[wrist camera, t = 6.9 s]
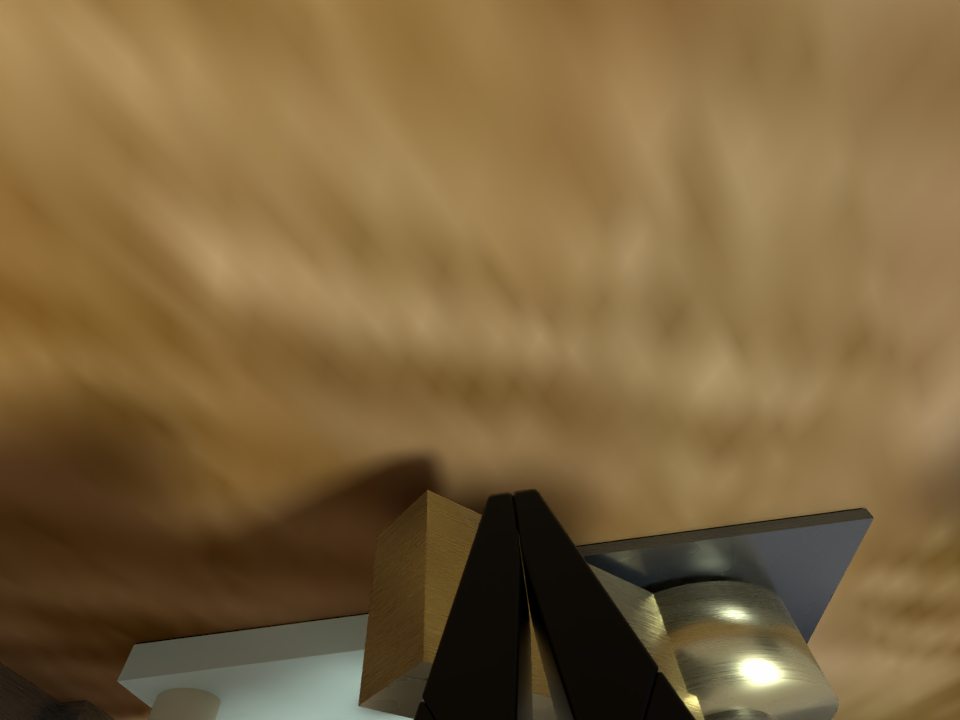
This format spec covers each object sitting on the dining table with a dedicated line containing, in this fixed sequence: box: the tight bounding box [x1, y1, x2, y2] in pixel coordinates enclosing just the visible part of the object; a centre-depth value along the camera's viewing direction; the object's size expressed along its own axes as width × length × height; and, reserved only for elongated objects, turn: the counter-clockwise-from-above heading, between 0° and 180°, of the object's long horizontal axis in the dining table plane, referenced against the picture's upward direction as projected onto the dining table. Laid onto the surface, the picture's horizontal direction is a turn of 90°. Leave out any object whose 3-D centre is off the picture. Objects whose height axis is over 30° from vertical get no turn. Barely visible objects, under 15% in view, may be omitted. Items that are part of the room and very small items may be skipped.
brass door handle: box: [358, 490, 838, 720], centre depth 13 cm, size 14×6×4 cm, turn 51°
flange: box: [577, 509, 873, 644], centre depth 16 cm, size 9×9×1 cm
